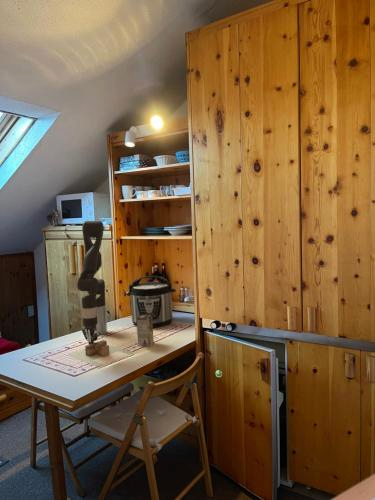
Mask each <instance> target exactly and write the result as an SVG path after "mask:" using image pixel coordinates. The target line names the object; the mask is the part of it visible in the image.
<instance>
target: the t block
mask: <svg viewBox="0 0 375 500" xmlns="http://www.w3.org/2000/svg"><path fill="white" fill-rule="evenodd" d="M109 346H110V345H108V342H107V340H104V339H103V340H99V341H94V343H92V344H89V343H88V344H87V345H84V349H85V351H86V356H89V357H90V356H92V355H95V354H96V355H99V356H101V357H106V356H109V355H110V354H109Z"/></svg>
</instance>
